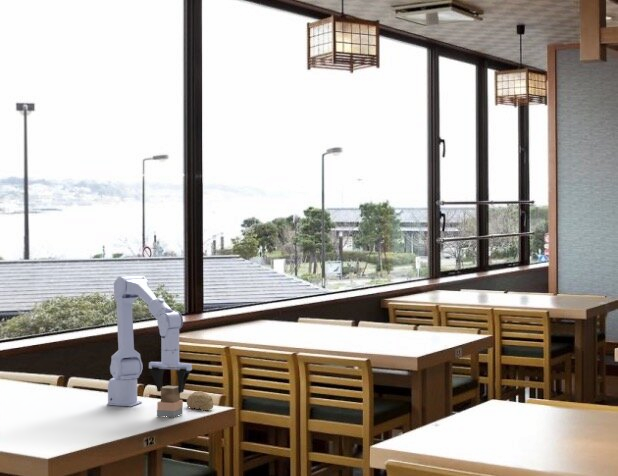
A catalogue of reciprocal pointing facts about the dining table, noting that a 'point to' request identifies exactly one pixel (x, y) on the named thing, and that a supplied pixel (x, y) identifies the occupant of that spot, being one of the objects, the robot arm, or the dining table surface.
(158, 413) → the slab bottom
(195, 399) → the stone tool
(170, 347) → the robot arm
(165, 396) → the walnut block
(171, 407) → the slab top
